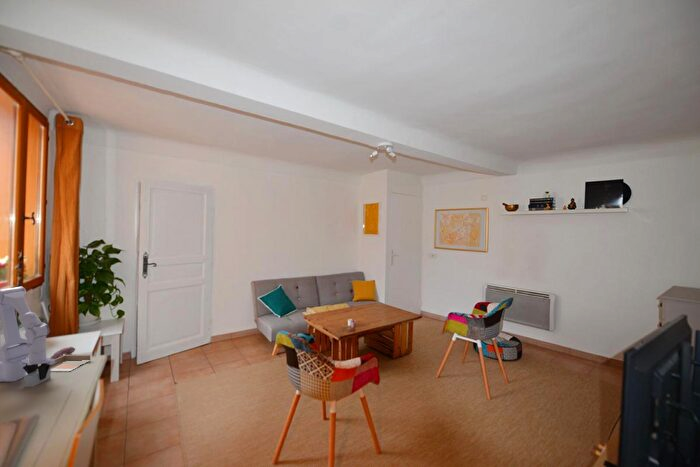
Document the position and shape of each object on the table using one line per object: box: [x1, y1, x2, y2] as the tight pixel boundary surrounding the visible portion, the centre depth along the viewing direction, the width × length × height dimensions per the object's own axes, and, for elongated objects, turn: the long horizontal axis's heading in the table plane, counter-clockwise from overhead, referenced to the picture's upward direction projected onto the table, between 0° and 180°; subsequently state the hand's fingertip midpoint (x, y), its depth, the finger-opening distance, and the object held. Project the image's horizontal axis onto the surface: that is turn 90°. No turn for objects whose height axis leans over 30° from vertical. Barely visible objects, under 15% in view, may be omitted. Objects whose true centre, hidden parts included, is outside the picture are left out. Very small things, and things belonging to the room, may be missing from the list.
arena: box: [50, 354, 91, 373], centre depth 158 cm, size 14×12×4 cm
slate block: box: [23, 368, 52, 388], centre depth 142 cm, size 4×8×5 cm, turn 1°
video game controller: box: [49, 346, 76, 359], centre depth 167 cm, size 10×5×7 cm, turn 169°
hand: (38, 379), depth 142 cm, fingers closed on slate block, 4 cm apart
